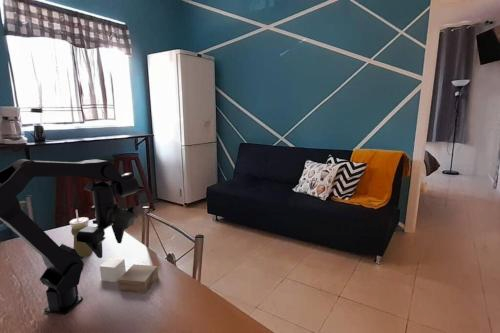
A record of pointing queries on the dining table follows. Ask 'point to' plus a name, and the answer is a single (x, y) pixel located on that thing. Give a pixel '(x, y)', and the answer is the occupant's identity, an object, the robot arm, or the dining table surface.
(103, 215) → the robot arm
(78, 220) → the smoothie
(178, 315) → the dining table surface
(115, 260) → the white cube
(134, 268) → the tan flat block
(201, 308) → the dining table surface
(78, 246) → the olive drink cup
